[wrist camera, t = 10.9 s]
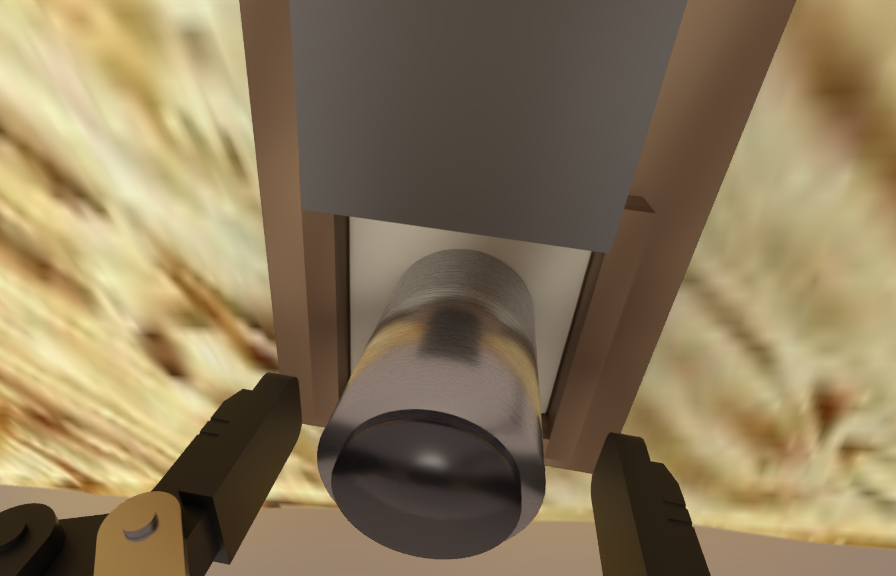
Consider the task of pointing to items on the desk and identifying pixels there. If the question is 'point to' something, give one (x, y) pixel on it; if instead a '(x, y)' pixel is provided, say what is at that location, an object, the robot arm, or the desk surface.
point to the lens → (442, 413)
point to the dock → (613, 278)
